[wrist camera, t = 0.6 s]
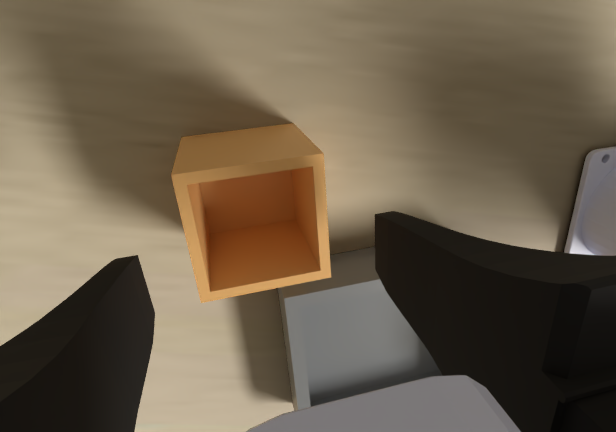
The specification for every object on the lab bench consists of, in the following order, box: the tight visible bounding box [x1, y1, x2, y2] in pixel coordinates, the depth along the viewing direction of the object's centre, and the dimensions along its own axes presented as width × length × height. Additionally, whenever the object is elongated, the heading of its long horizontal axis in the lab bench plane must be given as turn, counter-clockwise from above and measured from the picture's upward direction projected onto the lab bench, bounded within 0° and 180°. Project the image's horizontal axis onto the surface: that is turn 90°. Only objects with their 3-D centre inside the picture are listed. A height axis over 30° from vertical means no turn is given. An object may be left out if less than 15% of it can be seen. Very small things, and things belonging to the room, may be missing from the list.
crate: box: [278, 247, 442, 411], centre depth 23 cm, size 10×10×3 cm
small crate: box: [171, 123, 331, 303], centre depth 16 cm, size 5×5×6 cm
